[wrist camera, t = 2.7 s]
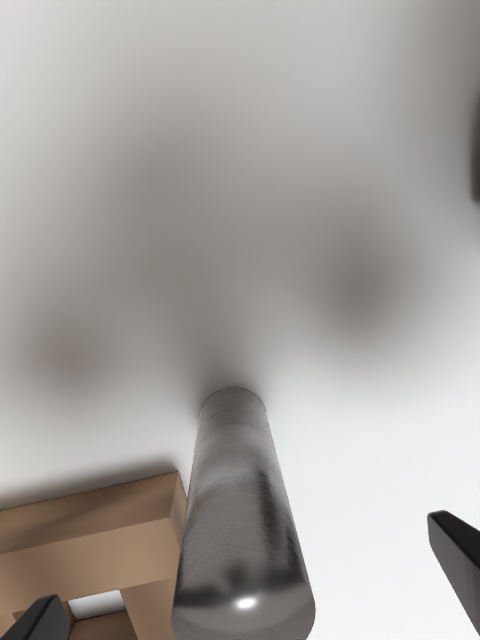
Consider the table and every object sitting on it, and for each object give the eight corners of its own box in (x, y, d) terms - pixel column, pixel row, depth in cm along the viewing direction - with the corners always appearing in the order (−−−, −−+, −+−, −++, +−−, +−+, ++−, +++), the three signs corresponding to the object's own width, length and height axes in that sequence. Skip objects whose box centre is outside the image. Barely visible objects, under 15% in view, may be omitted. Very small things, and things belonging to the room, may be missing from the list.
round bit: (259, 381, 14) (302, 544, 6) (271, 440, 15) (325, 654, 7) (192, 395, 14) (154, 576, 6) (207, 454, 15) (190, 684, 7)
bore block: (178, 471, 15) (169, 517, 12) (225, 631, 17) (226, 698, 15) (-34, 518, 15) (-87, 573, 12) (40, 672, 17) (9, 746, 15)
